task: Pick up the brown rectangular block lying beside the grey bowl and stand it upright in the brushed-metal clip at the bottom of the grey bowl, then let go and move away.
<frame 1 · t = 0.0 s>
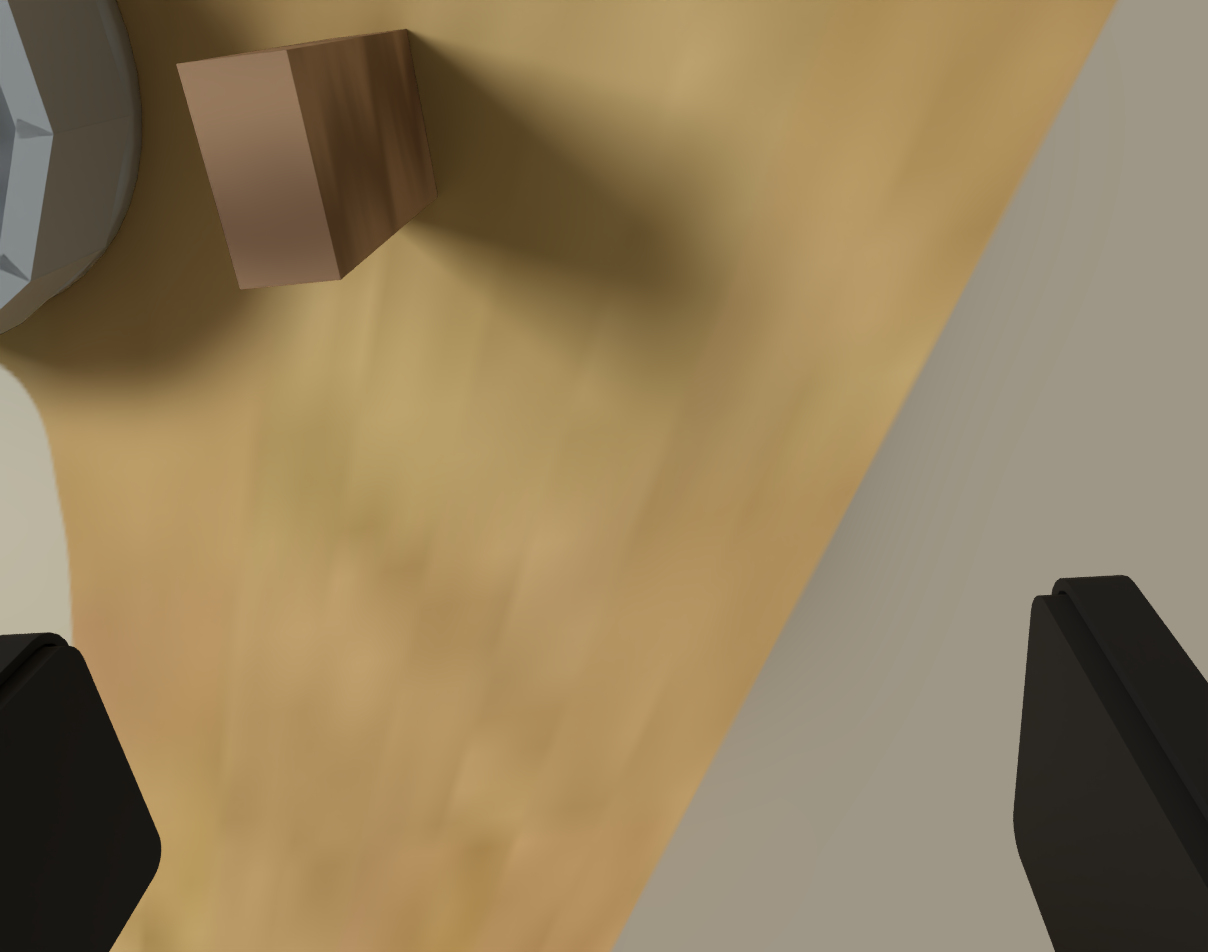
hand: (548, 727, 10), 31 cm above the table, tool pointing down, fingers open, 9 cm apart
brown rectangular block: (384, 120, 38), on the table
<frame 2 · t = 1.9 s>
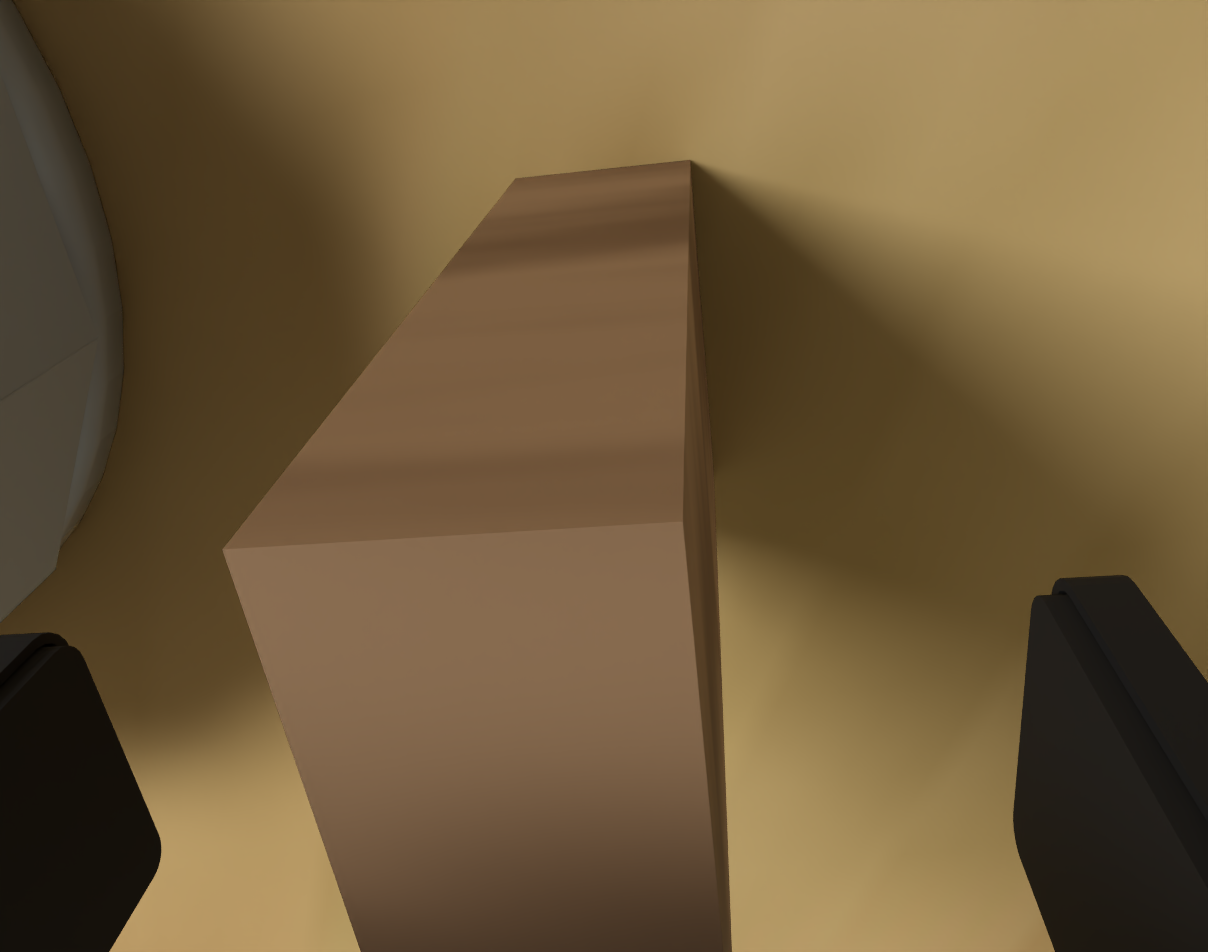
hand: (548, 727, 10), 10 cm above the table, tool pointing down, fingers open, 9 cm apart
brown rectangular block: (621, 336, 18), on the table
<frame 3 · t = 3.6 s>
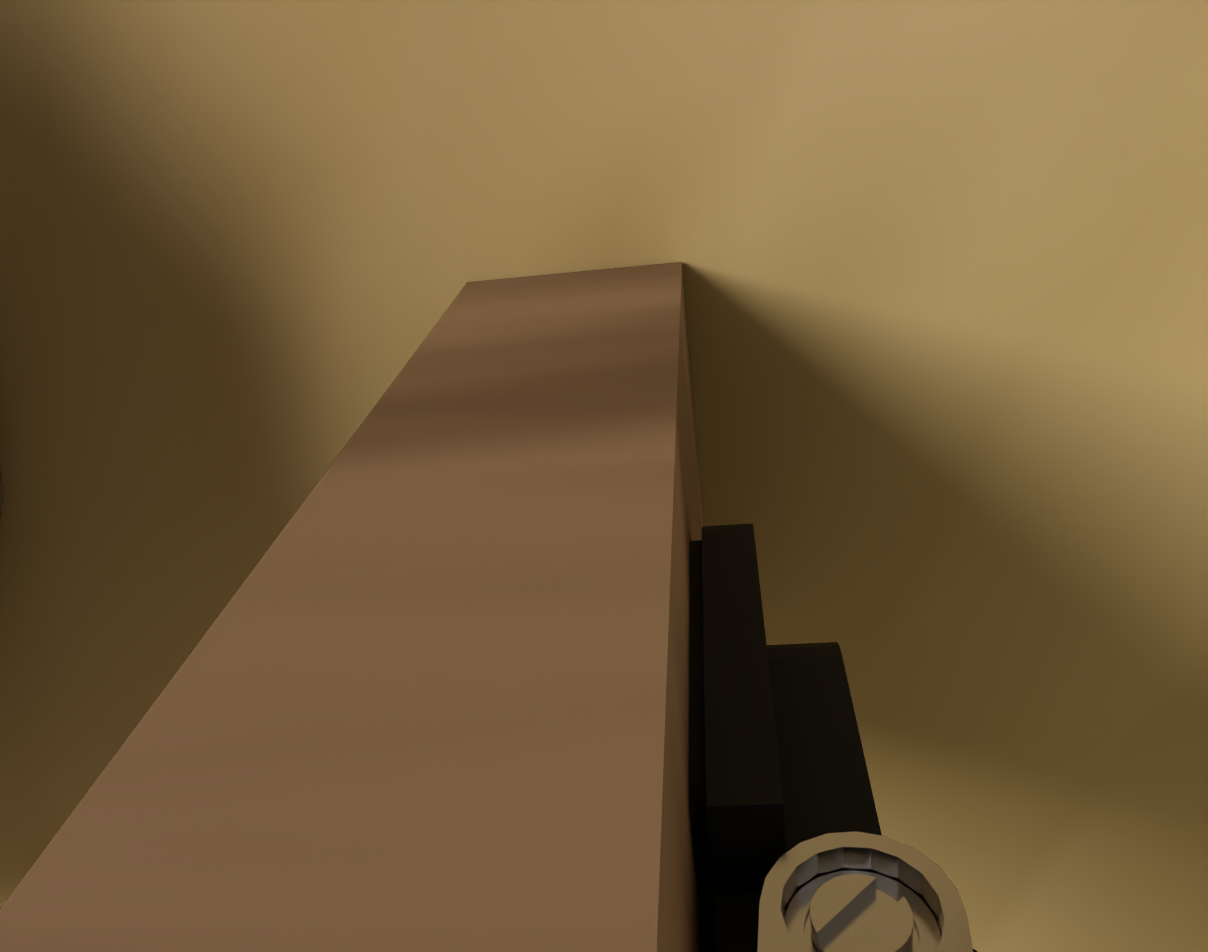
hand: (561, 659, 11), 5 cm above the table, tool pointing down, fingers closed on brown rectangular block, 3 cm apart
brown rectangular block: (598, 467, 15), on the table, touching gripper
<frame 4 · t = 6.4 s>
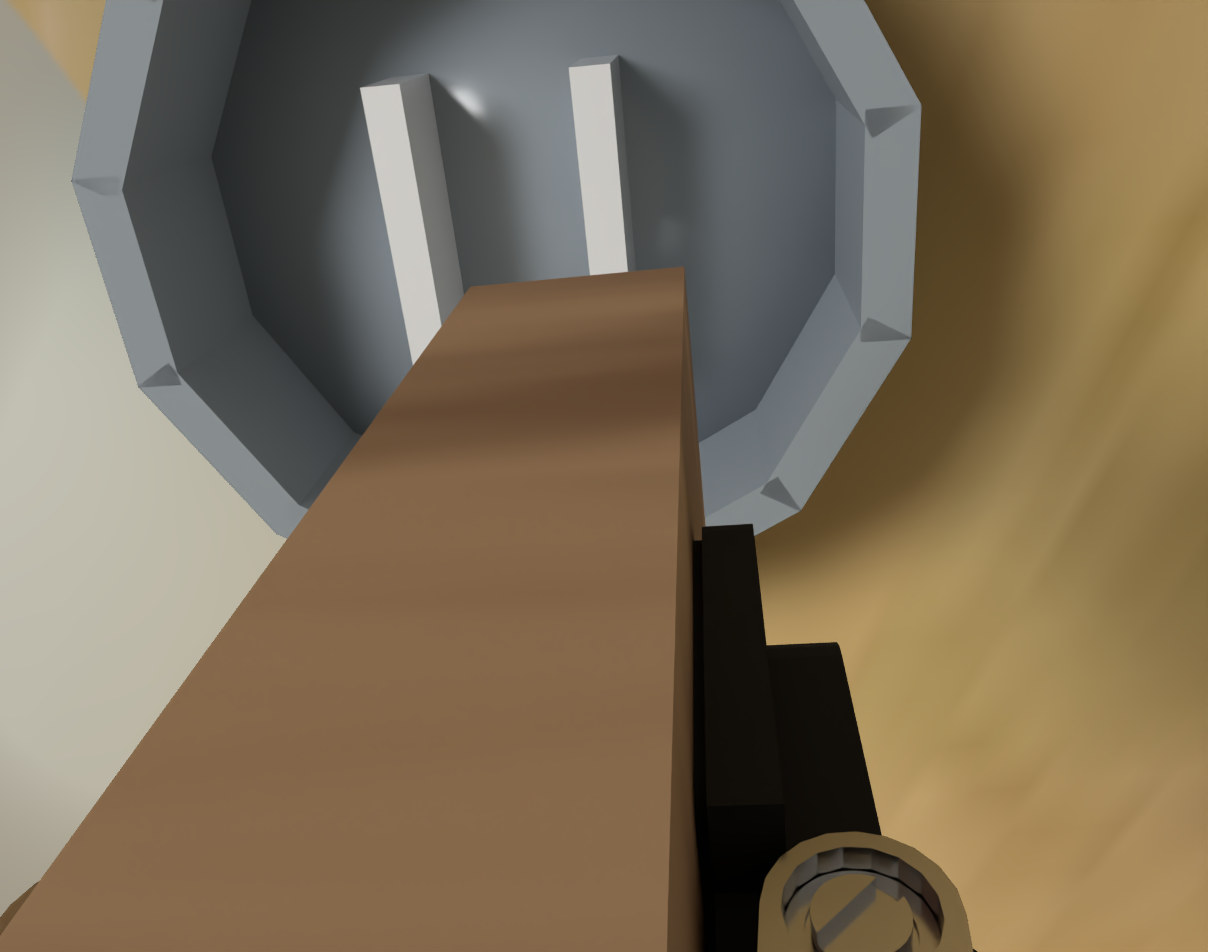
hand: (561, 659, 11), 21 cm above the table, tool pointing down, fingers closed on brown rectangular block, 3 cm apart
brown rectangular block: (601, 471, 15), point 17 cm above the table, touching gripper
grey bowl: (531, 204, 30), on the table
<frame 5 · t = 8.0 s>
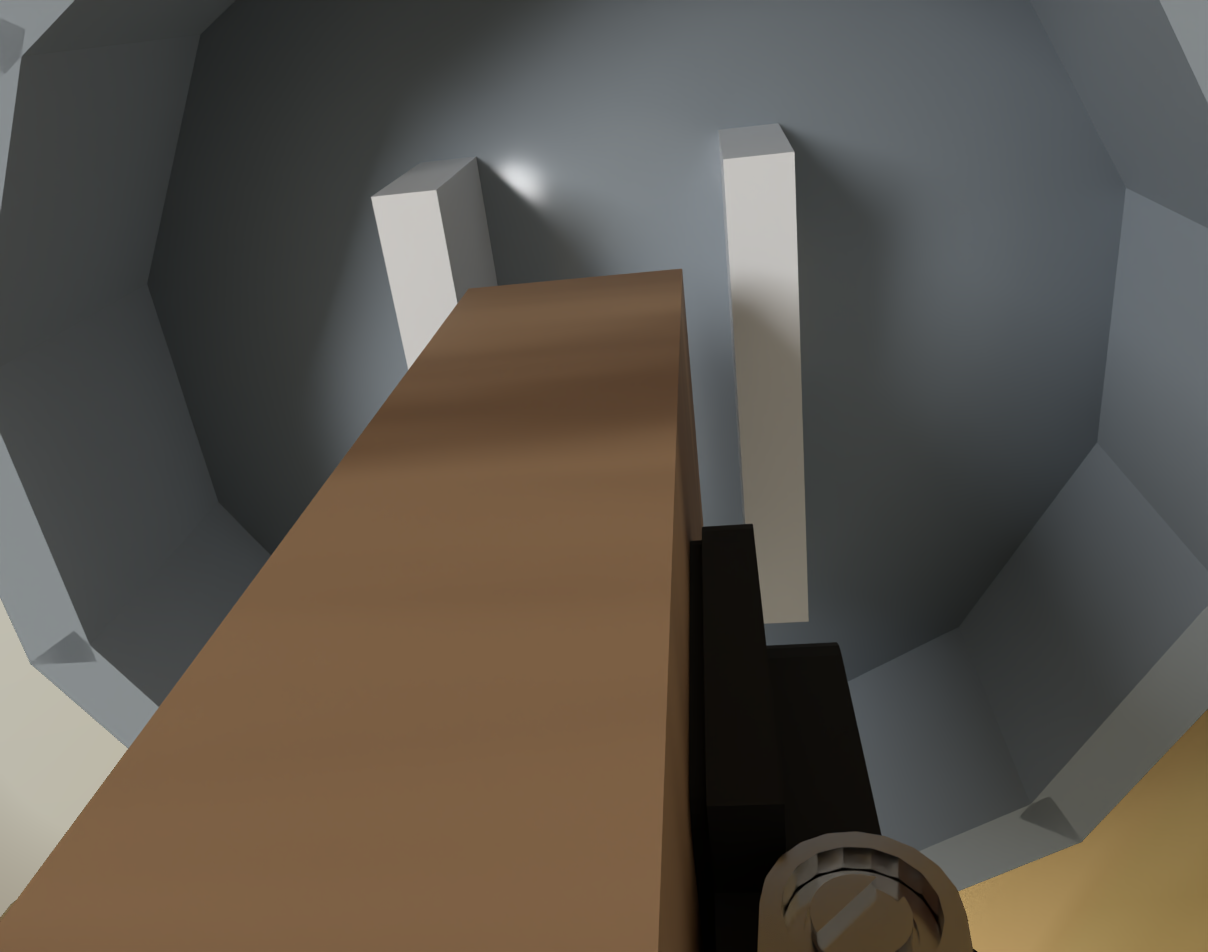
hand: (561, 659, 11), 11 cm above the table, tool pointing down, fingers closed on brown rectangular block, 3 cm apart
brown rectangular block: (599, 472, 15), point 6 cm above the table, touching gripper
grey bowl: (625, 337, 20), on the table
when the fingers open (7 cm above the table, at t = 9.4 s): brown rectangular block drops 1 cm, resting on grey bowl.
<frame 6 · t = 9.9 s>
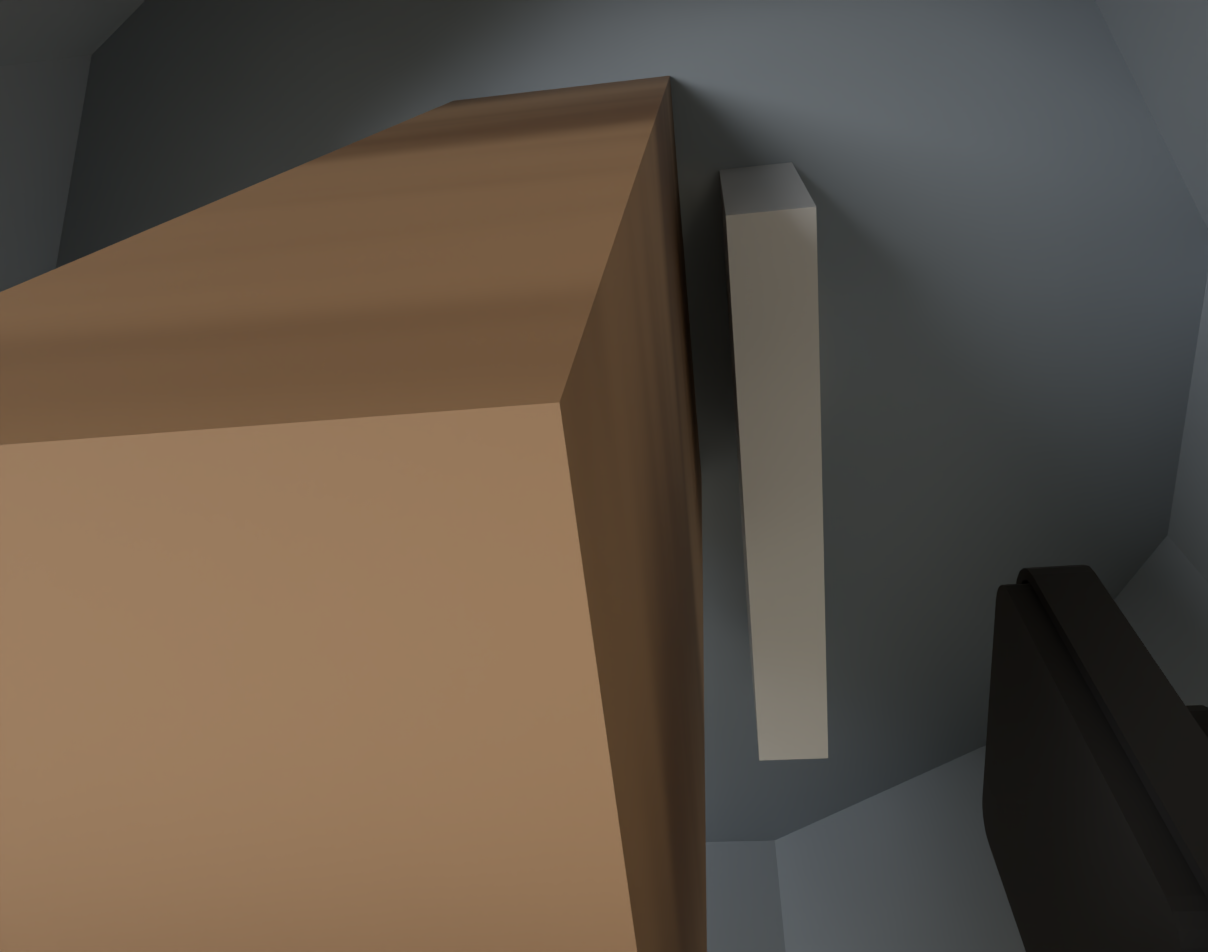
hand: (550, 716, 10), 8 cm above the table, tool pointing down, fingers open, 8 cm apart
brown rectangular block: (586, 302, 15), point 2 cm above the table, touching grey bowl
grey bowl: (610, 405, 17), on the table
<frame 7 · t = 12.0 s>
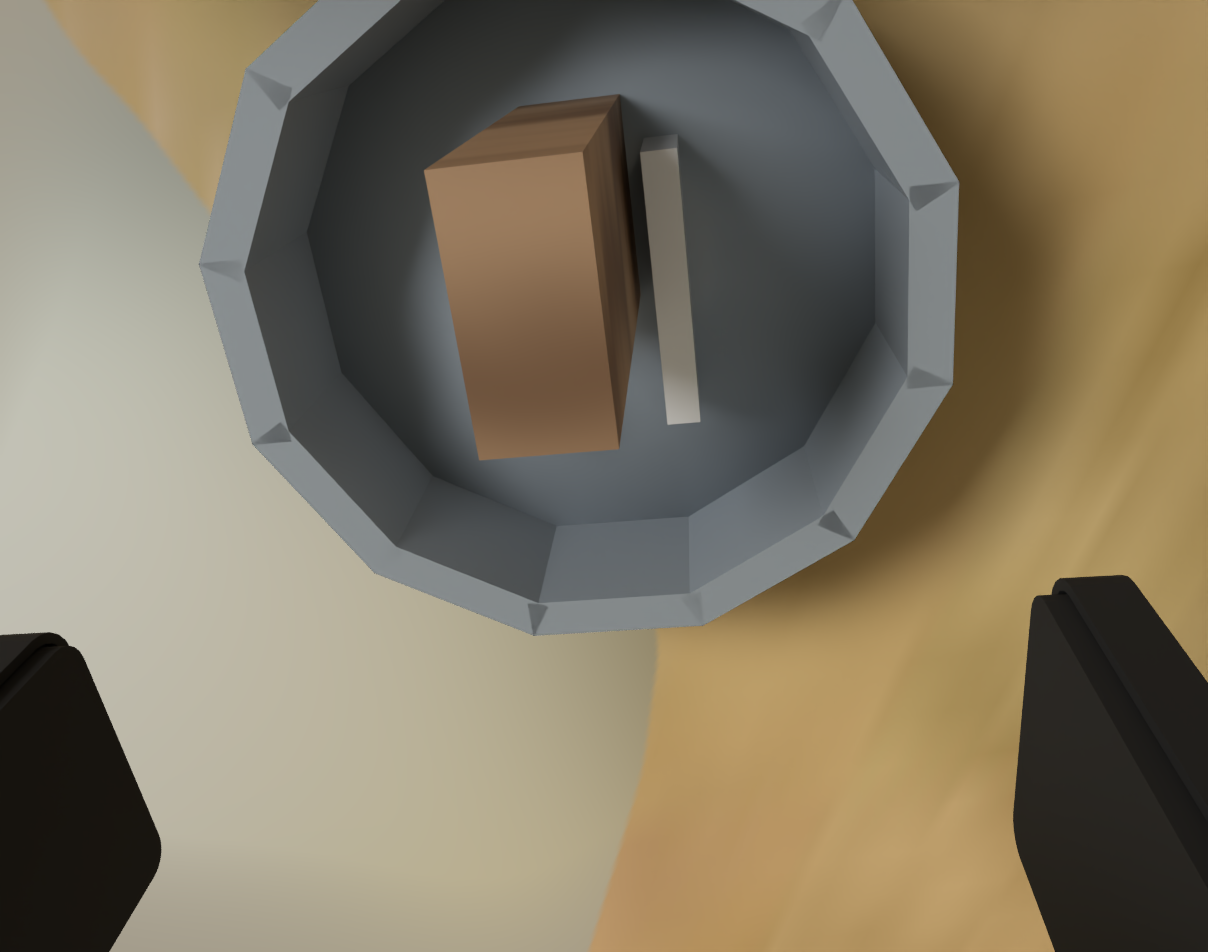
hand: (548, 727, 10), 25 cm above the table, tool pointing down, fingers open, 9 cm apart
brown rectangular block: (582, 203, 30), point 1 cm above the table, touching grey bowl
grey bowl: (594, 265, 33), on the table
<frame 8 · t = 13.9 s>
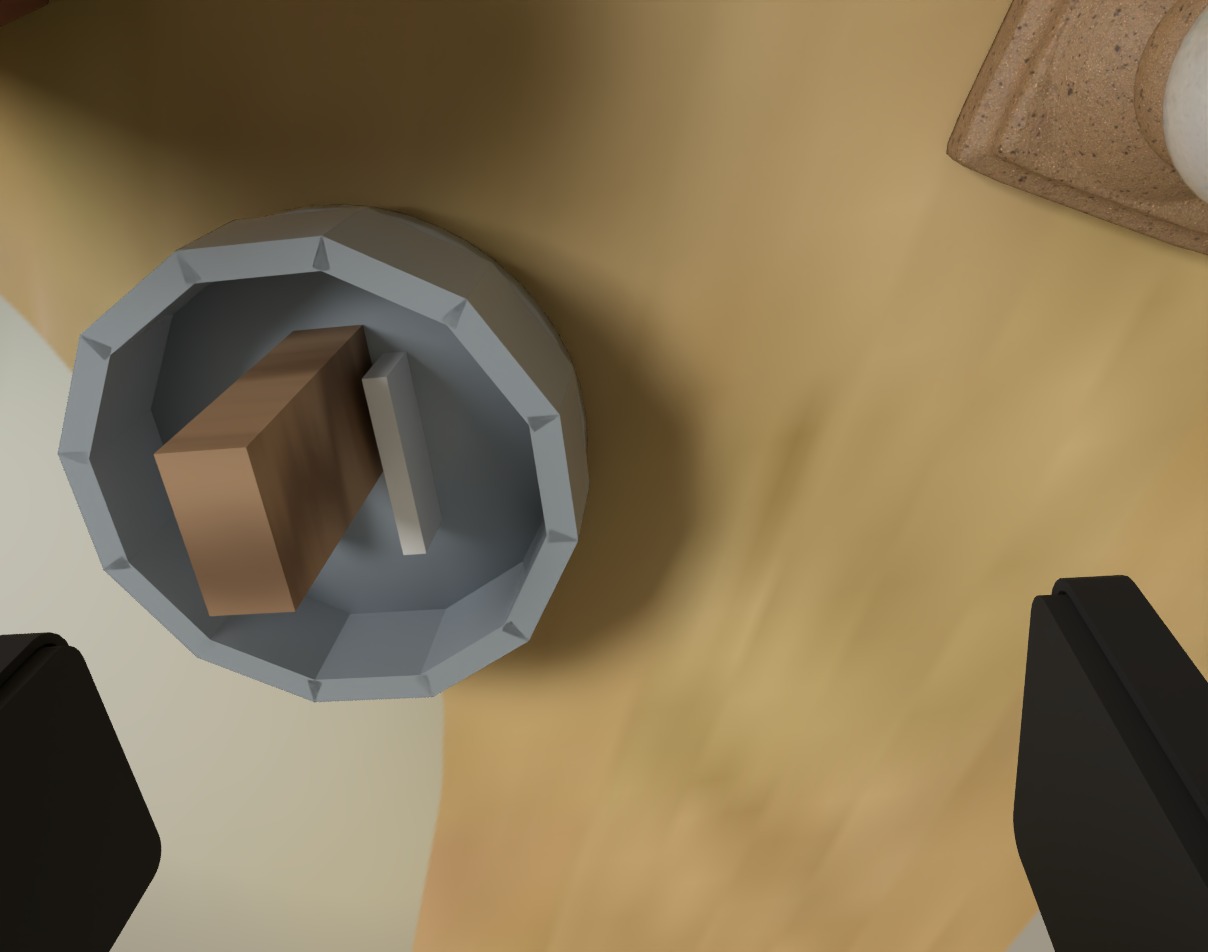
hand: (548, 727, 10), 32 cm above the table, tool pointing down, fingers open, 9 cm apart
brown rectangular block: (344, 394, 42), point 1 cm above the table, touching grey bowl
candle holder: (1148, 57, 36), on the table
grey bowl: (366, 429, 45), on the table
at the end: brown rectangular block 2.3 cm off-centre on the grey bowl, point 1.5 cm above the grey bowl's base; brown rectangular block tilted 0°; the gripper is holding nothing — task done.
